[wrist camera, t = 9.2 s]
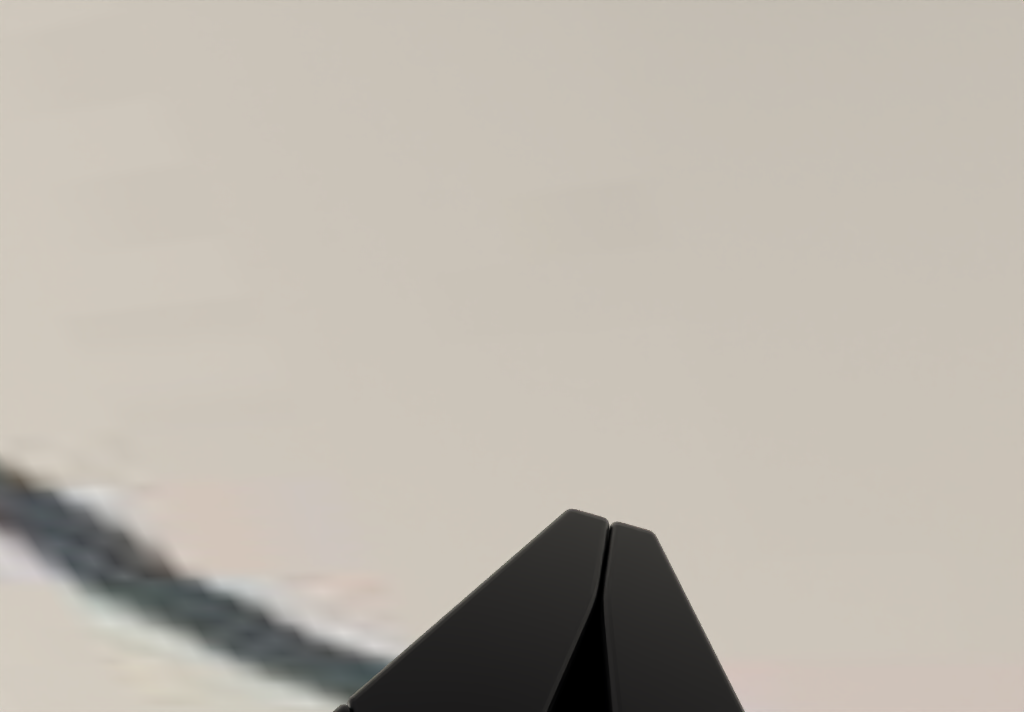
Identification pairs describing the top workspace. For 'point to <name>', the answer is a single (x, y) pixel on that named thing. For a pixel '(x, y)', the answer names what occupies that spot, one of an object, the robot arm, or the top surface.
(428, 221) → the top surface
